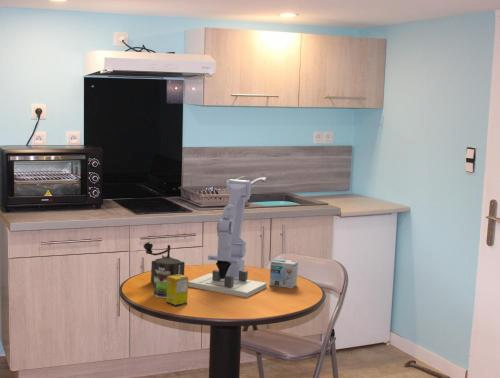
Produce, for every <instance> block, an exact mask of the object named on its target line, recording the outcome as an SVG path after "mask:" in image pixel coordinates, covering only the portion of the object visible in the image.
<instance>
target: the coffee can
mask: <svg viewBox="0 0 500 378" xmlns="http://www.w3.org/2000/svg"><path fill="white" fill-rule="evenodd" d="M172 258H173V257H172ZM172 258H163V257H160V258H156V259H154V261H155V272H154V283H153V296H154V297H156V298H159V299H167V276H171V275H177V274H180V261H181V260H180V259H177V258H174V259H172Z"/></svg>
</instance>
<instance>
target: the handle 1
mask: <svg viewBox="0 0 500 378" xmlns="http://www.w3.org/2000/svg"><path fill="white" fill-rule="evenodd" d="M233 283H234V277H231V276H226V277H225V281H224V287H230V288H231V287H233Z"/></svg>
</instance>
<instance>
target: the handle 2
mask: <svg viewBox="0 0 500 378" xmlns="http://www.w3.org/2000/svg"><path fill="white" fill-rule="evenodd" d="M248 273H249V271H248V270H245V269H244V270H240V271H239V280H241V281H246V280H248V277H249V275H248Z"/></svg>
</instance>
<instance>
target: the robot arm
mask: <svg viewBox="0 0 500 378" xmlns="http://www.w3.org/2000/svg"><path fill="white" fill-rule="evenodd" d="M251 192H252V183H251V181H250V180H249V179H248V180H244V179H232V178H230V179H229V180H228V182H227V193H228V195H229V196H228V197H229V198H228V201H227V205H225V206H224V208H223V210H222V214H221V217H220V219H218V221H217V223H216V233H217V253H216V254H208V255H207V260H208V261H210V260H211V261H217V262H215V265H216V267H217V270H219V273H220V278H221V279H225V277H226V276H231V277H235V278H239V271H240V270H244V271H245V259H244V258H245V256H246V251H247V248H246V247H247V246H246V245H247V242H246V241H245V239H244V238H243V237H242V228H243V219H244V213H245V205H246V201H249V200H250V197H251Z"/></svg>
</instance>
